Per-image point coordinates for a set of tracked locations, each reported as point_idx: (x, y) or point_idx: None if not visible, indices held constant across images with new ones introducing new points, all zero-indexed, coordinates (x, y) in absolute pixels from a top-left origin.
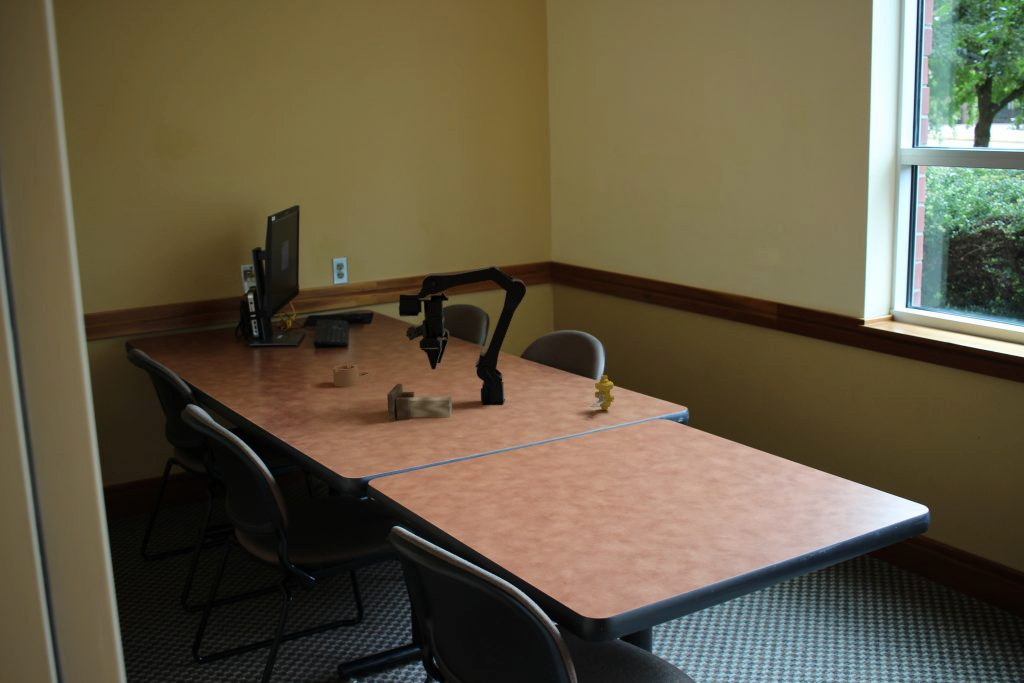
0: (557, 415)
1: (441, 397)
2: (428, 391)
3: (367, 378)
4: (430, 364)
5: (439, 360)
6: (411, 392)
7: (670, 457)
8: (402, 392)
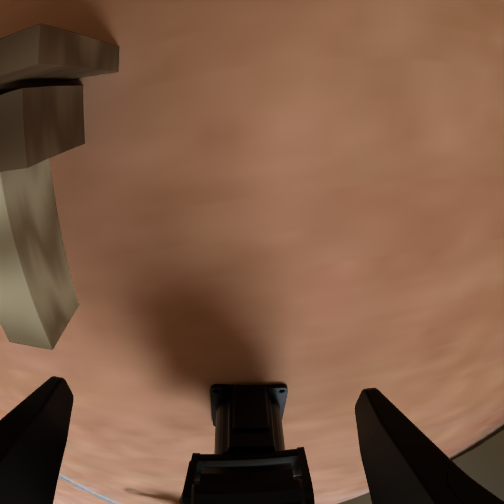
0: (131, 473)
1: (31, 313)
2: (485, 160)
3: None
4: (20, 405)
5: (362, 425)
6: (10, 156)
7: None
8: (8, 94)
